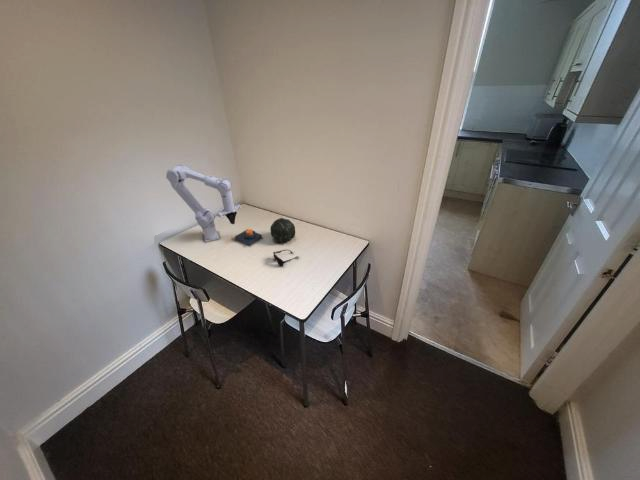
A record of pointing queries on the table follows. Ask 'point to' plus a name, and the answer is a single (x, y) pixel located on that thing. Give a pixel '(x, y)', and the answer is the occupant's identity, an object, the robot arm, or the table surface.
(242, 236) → the dark blue button base
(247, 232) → the orange button
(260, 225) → the table surface
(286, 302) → the table surface
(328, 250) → the table surface
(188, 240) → the table surface
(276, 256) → the sunglasses
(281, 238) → the squash
